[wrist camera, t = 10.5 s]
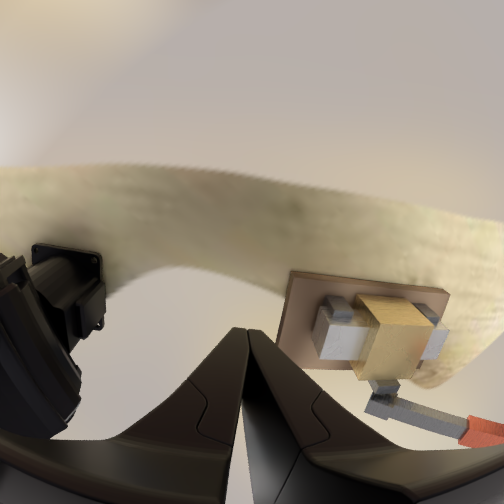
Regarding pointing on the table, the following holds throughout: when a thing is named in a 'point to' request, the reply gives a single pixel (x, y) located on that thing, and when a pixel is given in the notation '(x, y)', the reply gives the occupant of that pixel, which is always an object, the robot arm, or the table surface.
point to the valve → (378, 337)
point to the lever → (437, 421)
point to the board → (317, 286)
